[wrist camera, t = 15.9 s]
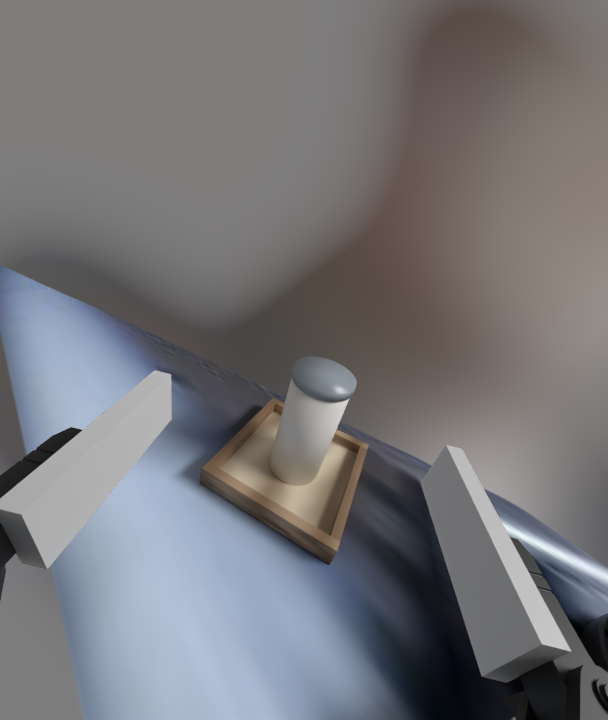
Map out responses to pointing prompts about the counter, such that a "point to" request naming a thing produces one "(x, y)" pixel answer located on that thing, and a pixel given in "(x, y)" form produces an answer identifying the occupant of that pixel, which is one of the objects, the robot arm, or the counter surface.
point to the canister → (310, 418)
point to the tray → (283, 501)
